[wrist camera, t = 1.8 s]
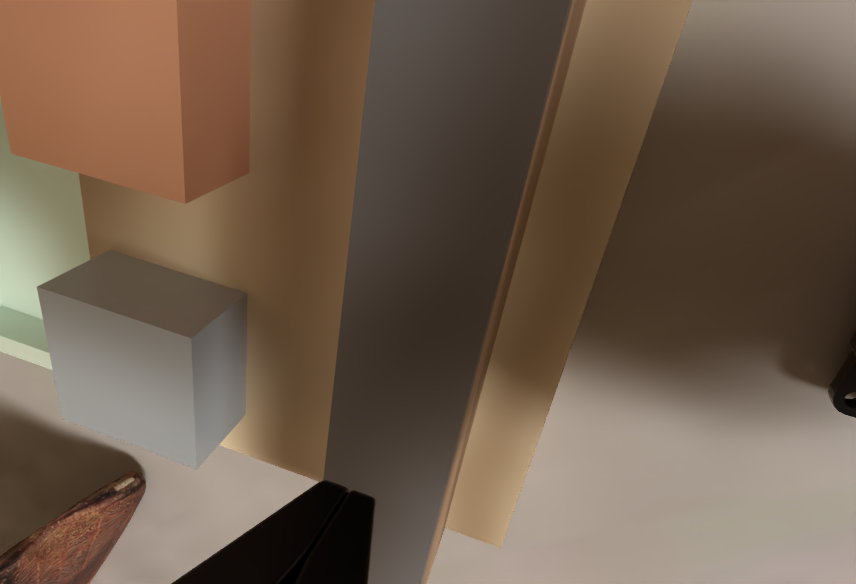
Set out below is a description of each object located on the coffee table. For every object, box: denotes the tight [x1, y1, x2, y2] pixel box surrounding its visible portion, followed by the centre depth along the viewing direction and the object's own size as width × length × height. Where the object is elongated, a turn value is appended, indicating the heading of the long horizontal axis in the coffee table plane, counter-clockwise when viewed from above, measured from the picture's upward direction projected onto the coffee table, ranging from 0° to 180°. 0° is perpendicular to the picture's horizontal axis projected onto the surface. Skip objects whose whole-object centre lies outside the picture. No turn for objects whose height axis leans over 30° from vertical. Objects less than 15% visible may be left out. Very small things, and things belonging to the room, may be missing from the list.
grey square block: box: [37, 250, 247, 470], centre depth 17 cm, size 4×4×2 cm
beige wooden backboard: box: [79, 0, 692, 548], centre depth 16 cm, size 14×16×3 cm
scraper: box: [323, 0, 587, 584], centre depth 13 cm, size 2×16×5 cm, turn 170°
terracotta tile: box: [0, 0, 252, 204], centre depth 13 cm, size 4×4×2 cm
